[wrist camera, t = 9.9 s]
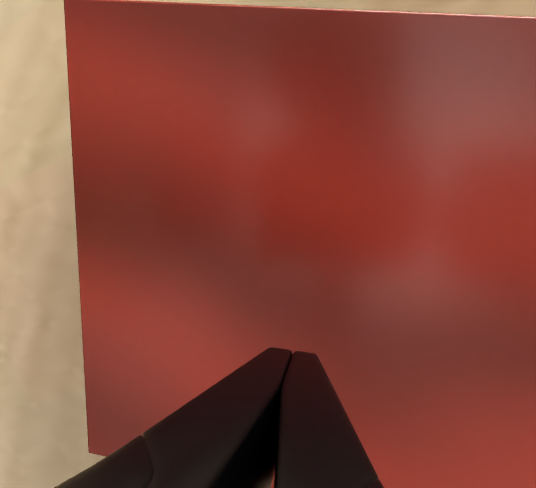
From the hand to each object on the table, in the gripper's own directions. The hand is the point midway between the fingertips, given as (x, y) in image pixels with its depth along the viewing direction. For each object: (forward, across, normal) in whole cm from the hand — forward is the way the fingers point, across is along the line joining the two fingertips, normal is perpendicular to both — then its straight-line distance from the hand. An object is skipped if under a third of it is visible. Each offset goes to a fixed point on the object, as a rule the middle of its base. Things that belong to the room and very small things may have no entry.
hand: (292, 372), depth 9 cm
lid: (+5, 0, 0) cm, 5 cm away
